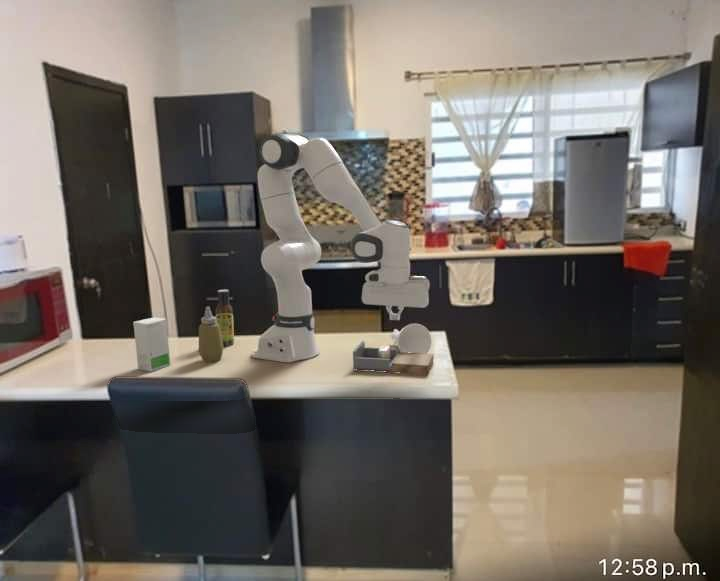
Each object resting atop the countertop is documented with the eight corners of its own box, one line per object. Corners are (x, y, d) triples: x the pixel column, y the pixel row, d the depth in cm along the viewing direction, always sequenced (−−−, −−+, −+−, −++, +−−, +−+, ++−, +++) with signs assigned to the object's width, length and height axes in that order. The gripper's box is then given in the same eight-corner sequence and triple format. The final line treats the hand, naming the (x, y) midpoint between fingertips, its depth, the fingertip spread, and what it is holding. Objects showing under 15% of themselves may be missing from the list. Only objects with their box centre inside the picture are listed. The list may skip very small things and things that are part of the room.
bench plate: (391, 372, 170) (391, 363, 169) (398, 361, 180) (398, 352, 180) (428, 375, 167) (428, 365, 166) (433, 363, 177) (433, 354, 177)
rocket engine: (392, 315, 199) (411, 316, 182) (417, 334, 202) (438, 336, 184) (374, 342, 197) (391, 346, 180) (399, 361, 199) (419, 366, 182)
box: (353, 370, 173) (352, 351, 172) (362, 358, 183) (362, 341, 182) (391, 372, 170) (391, 353, 169) (398, 361, 180) (398, 343, 179)
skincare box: (150, 372, 176) (145, 324, 173) (136, 369, 179) (131, 322, 176) (171, 364, 183) (167, 318, 180) (158, 361, 186) (153, 316, 183)
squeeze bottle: (229, 357, 189) (225, 305, 185) (213, 365, 181) (209, 310, 178) (210, 354, 192) (206, 303, 188) (194, 362, 185) (189, 308, 181)
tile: (386, 366, 173) (378, 366, 174) (390, 361, 178) (382, 360, 178) (386, 350, 172) (378, 350, 173) (389, 346, 177) (382, 345, 177)
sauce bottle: (216, 347, 200) (211, 292, 196) (217, 342, 206) (213, 289, 202) (234, 346, 201) (230, 291, 197) (235, 341, 207) (231, 288, 203)
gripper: (431, 274, 169) (430, 319, 172) (365, 271, 175) (365, 315, 178) (428, 278, 163) (427, 324, 166) (360, 275, 169) (360, 320, 172)
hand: (394, 319), depth 172 cm, fingers closed
